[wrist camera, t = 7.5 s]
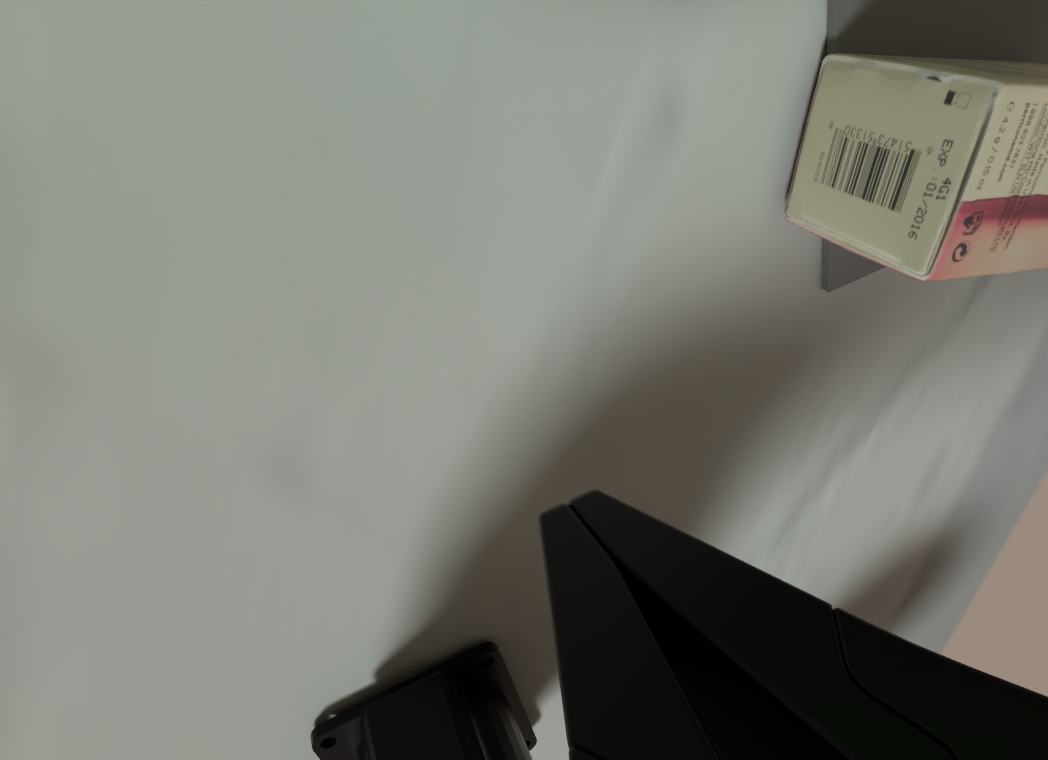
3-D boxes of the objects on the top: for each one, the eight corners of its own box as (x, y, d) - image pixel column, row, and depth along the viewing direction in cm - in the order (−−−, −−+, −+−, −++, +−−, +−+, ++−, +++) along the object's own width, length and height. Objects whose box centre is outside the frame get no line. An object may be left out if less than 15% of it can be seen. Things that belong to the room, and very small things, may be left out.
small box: (924, 289, 15) (1149, 266, 18) (1004, 75, 13) (1245, 86, 16) (774, 220, 19) (976, 210, 22) (818, 48, 17) (1035, 61, 20)
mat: (1111, 160, 24) (1121, 162, 23) (821, 288, 21) (828, 291, 21) (1237, -320, 17) (1251, -325, 17) (832, -208, 15) (842, -211, 14)
